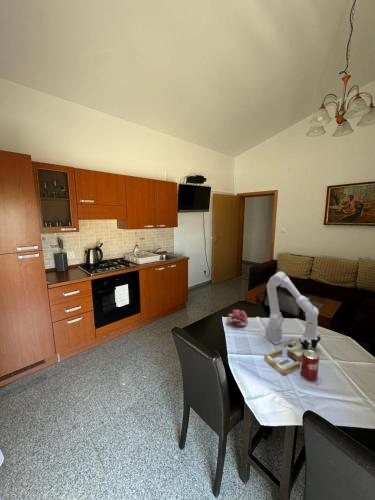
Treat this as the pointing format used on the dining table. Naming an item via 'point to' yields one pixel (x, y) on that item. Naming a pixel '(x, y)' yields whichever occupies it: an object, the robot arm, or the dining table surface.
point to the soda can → (310, 365)
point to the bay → (277, 366)
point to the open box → (296, 352)
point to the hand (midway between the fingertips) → (309, 349)
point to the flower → (238, 318)
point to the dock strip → (284, 362)
